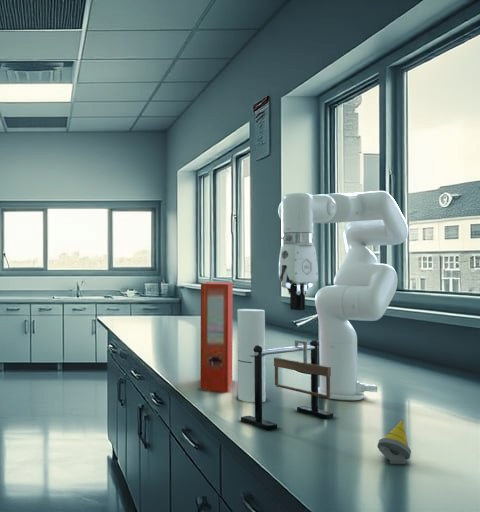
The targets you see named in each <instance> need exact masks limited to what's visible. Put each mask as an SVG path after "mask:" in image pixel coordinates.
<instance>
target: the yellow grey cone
mask: <svg viewBox="0 0 480 512" xmlns="http://www.w3.org/2000/svg"><path fill="white" fill-rule="evenodd" d="M377 449H378V451H379V452H380V453H381V454H382V455H383V456H384V457H385V458H386V459H387V460H389V464H390V465H405V464H406V461H407V460H409V459H410V458H411V455H412V449H411V448H410V447H409V445H408V440H407V435H406V429H405V424H404V420H400V421H399V422H398V423H397V425H395V427H393V429H392V430H391V431H389V433H388V434H387V435H385V436H384V437H382V438H380V439H379V440H378V442H377Z"/></svg>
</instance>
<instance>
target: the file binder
mask: <svg viewBox="0 0 480 512" xmlns="http://www.w3.org/2000/svg"><path fill="white" fill-rule="evenodd" d="M233 287H234V283H233V282H229V281H228V282H226V281H225V282H223V281H221V282H220V281H207V282H203V283H201V284H200V377H199V378H200V381H199V382H200V388H199V389H200V390H201V391H210V392H219V393H228V392H229V389H230V387H231V385H232V382H233V335H234V334H233V332H234V331H233V329H234V328H233V325H234V323H233V321H234V320H233V319H234V318H233V316H234V313H233V312H234V311H233V307H234V305H233V303H234V297H233V296H234V295H233V294H234V293H233V290H234V288H233Z"/></svg>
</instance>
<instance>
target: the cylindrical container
mask: <svg viewBox="0 0 480 512" xmlns="http://www.w3.org/2000/svg"><path fill="white" fill-rule="evenodd" d="M236 313H237V318H236V319H237V320H236V321H237V324H236V325H237V399H238V400H239V401H242V402H247V403H255V366H254V350H253V349H254V347H255V346H256V345H259V346H261V347H262V349H263V350H266V310H265V309H257V308H237V312H236ZM265 402H266V355H262V403H265Z"/></svg>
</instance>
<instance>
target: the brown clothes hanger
mask: <svg viewBox="0 0 480 512" xmlns="http://www.w3.org/2000/svg"><path fill="white" fill-rule="evenodd" d="M299 344H302V346H303V351H302V353H303V354H302V355H303V356H302V357H303V358H302V359H303V361H300V360H293V359H288V358H284V357H283V358H282V357H273V367H274V386H275V387H276V388H280V389H286V390H290V391H293V392H294V391H295V392H297V393H298V392H299V393H303V394H307V395H310V396H311V395H315V396H318V398H324V399H330V398H329V397H330V376H331V367H328V366H322V365H320V364H318V365H317V364H311V362H308V350H307V345H308V341H306V340H299V339H295V340H294V347H295V346H299ZM279 368H282V369H286V370H291V371H297V372H300V373H301V372H302V373H306V374H310V375H311V374H316V375H318V376H320V375H321V376H326V395H323V394H319V393H315V392H311V390H306V389H301V388H297V387H293V386H288V385H285V384H284V385H283V384H280V383H279Z"/></svg>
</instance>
